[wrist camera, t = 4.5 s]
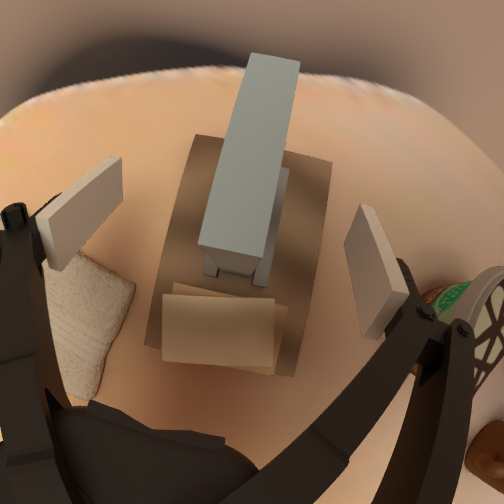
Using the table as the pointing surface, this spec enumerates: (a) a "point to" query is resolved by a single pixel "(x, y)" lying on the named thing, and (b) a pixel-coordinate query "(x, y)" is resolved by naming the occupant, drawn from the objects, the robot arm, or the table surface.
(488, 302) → the food container
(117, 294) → the washcloth
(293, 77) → the tall panel
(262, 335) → the offcut stack
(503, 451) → the mug
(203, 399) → the table surface
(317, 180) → the brown rectangular board
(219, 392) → the table surface
